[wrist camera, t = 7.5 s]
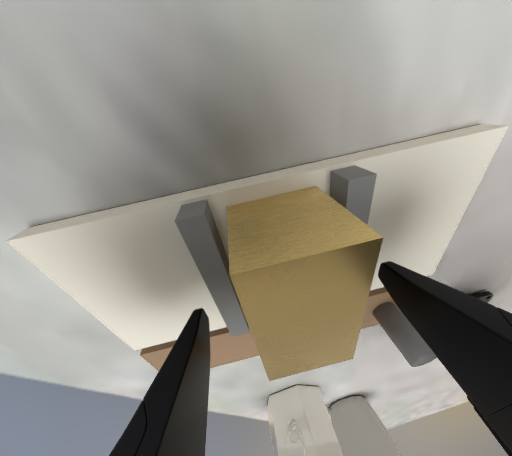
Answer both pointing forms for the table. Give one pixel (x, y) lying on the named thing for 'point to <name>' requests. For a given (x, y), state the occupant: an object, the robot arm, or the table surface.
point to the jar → (301, 423)
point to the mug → (360, 429)
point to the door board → (217, 251)
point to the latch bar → (301, 277)
